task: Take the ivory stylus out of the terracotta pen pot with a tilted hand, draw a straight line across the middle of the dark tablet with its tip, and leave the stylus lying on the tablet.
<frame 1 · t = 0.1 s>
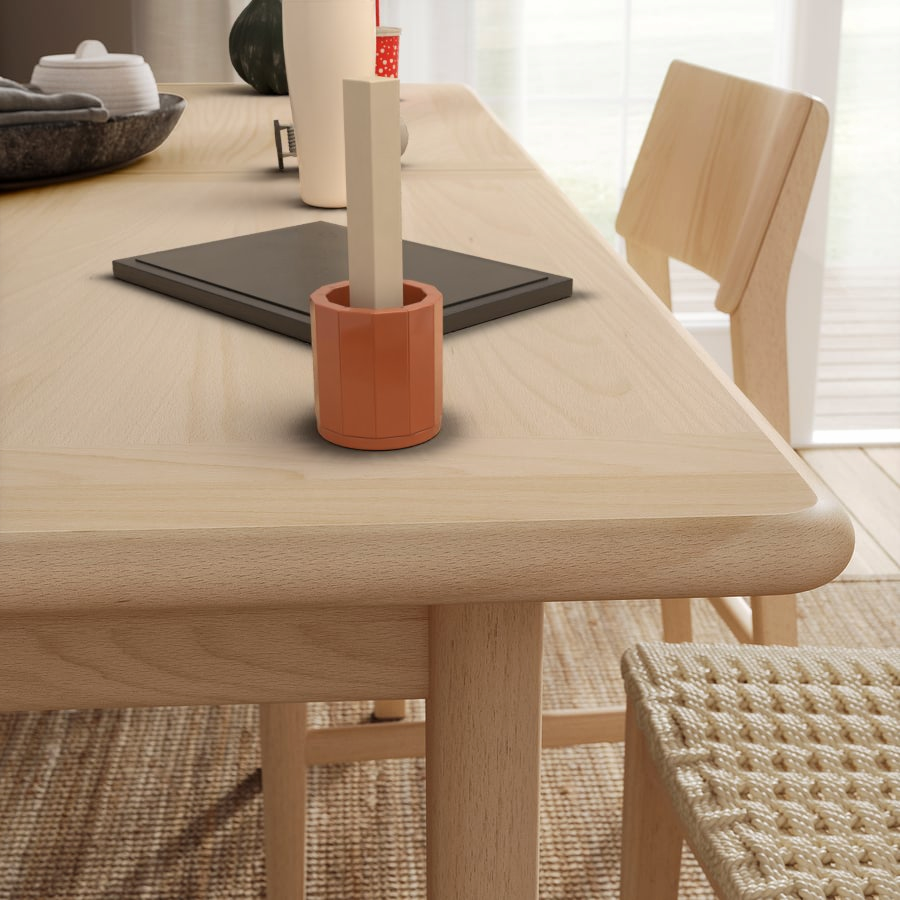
pen pot: (379, 426, 47), on the table
squash: (285, 93, 164), on the table
beverage cup: (379, 102, 154), on the table
stylus: (375, 256, 45), in the pen pot
tablet: (336, 285, 68), on the table
clip-on lamp: (344, 167, 107), on the table
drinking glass: (335, 205, 90), on the table
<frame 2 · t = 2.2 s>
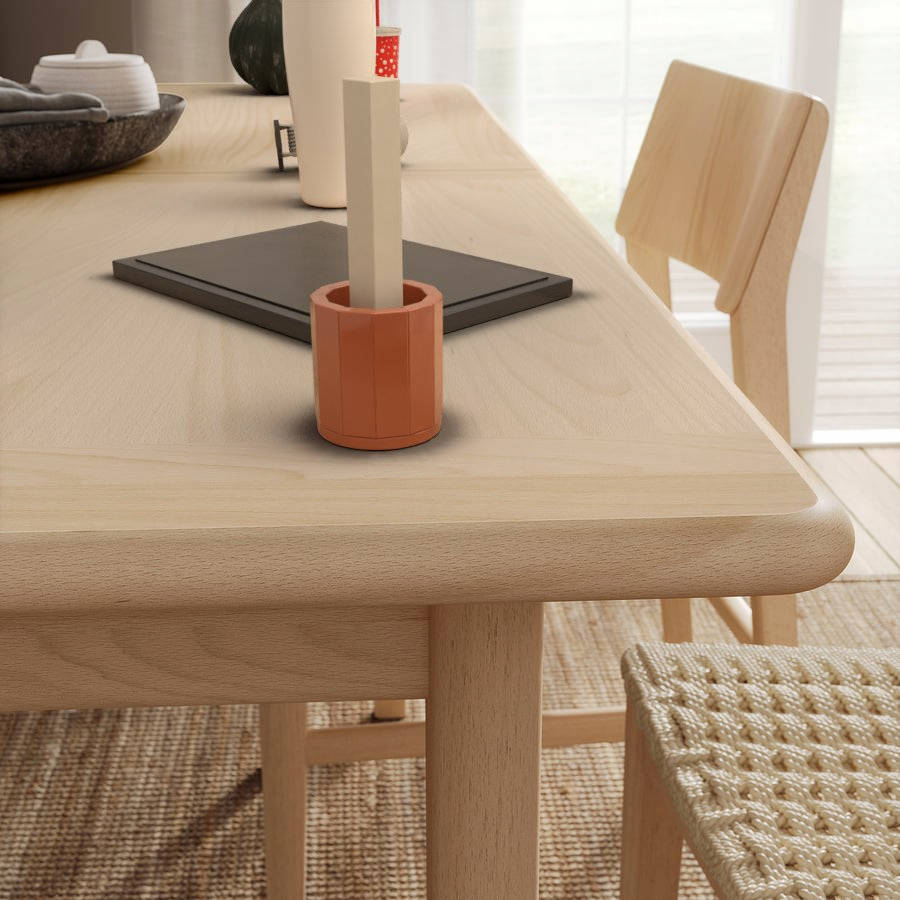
nothing on the table moved.
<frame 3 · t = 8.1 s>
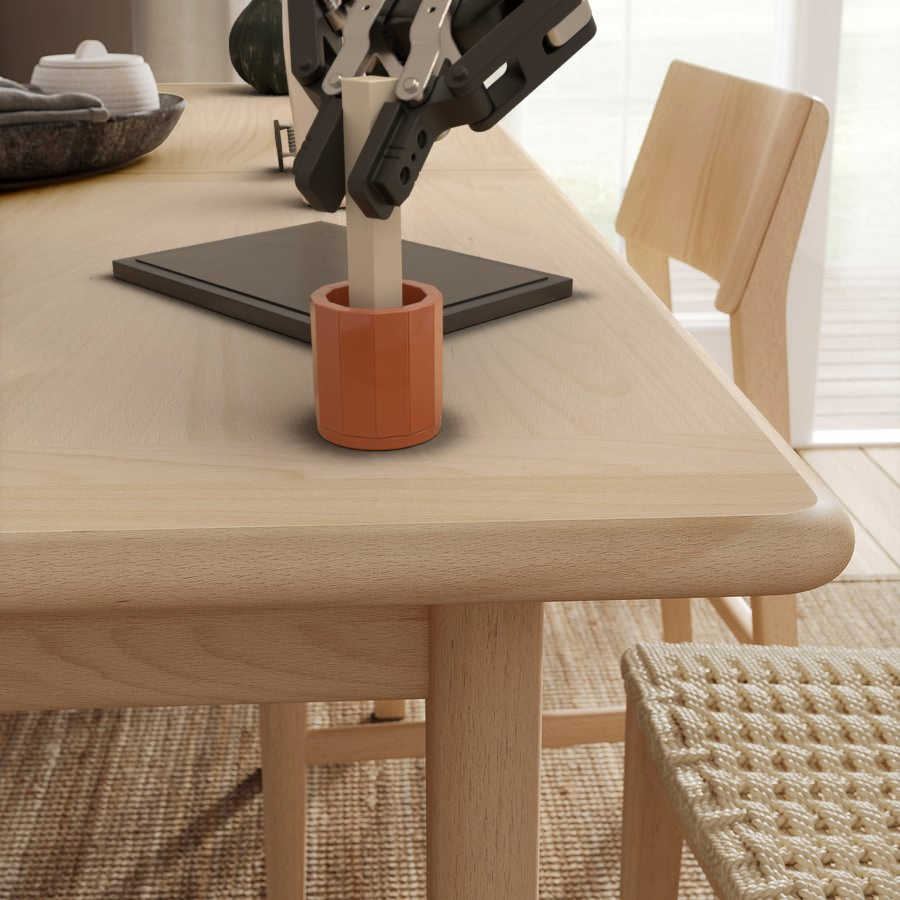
hand: (340, 201, 42), 9 cm above the table, tool tilted 45°, fingers closed on stylus, 2 cm apart
stylus: (374, 256, 45), in the pen pot, point 7 cm above the table, touching gripper
everything else where it was.
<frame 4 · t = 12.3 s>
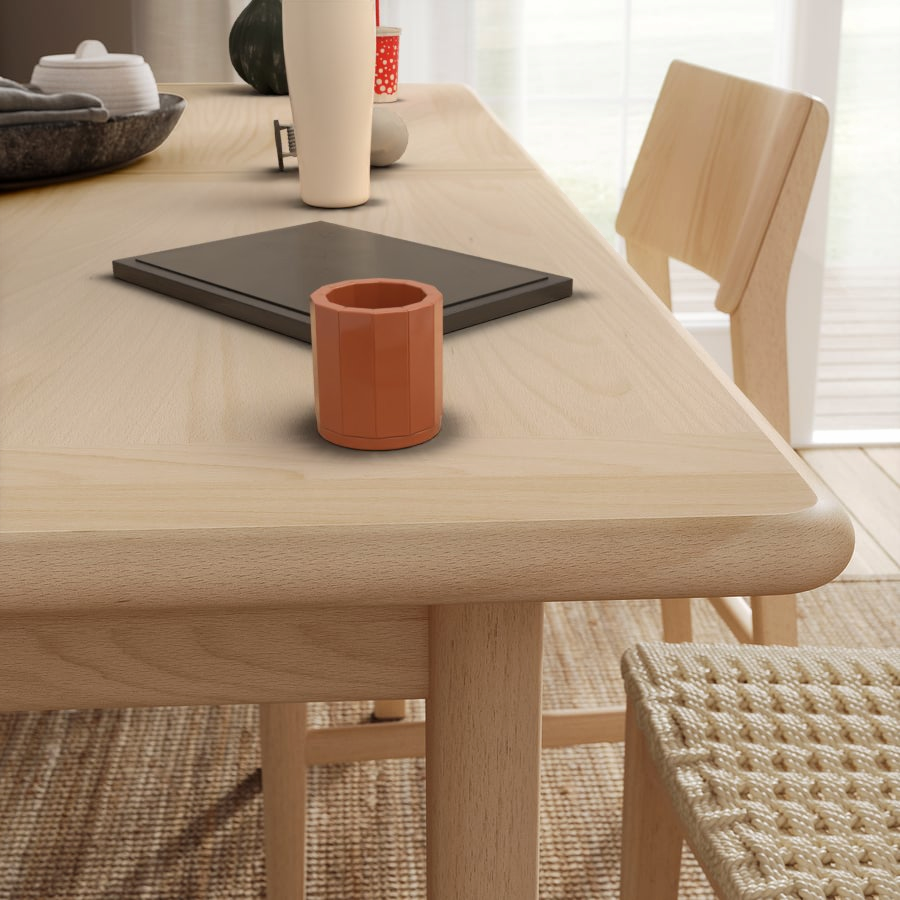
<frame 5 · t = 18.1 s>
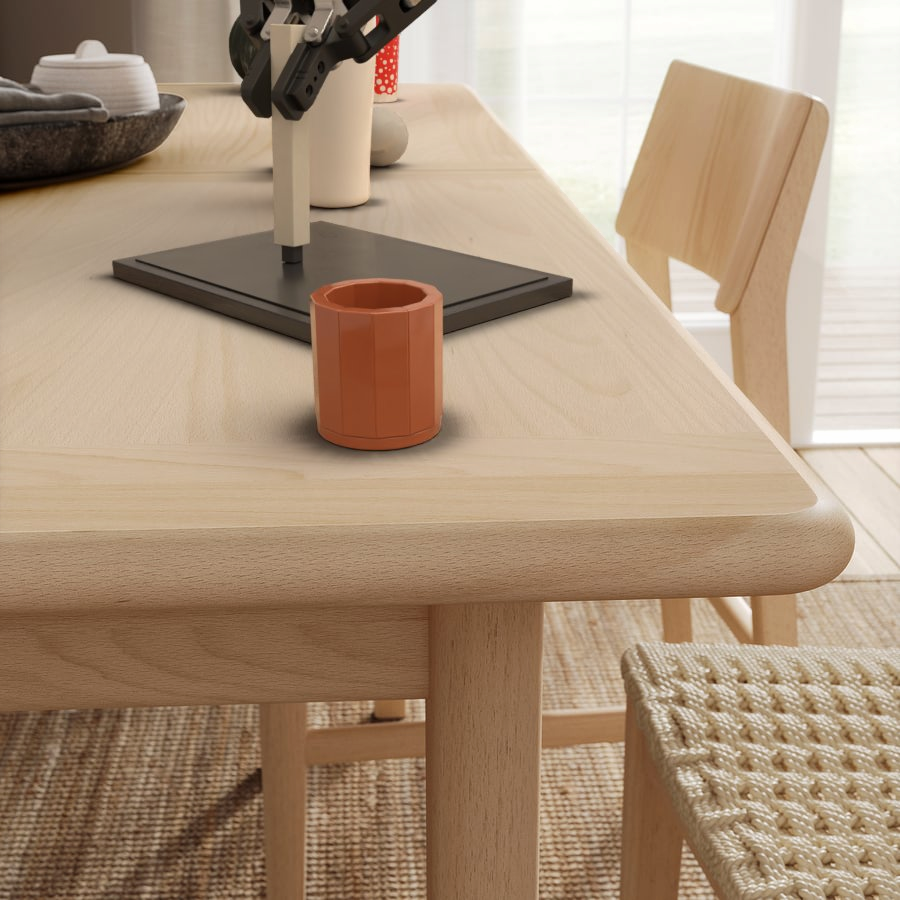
hand: (269, 108, 64), 10 cm above the table, tool tilted 45°, fingers closed on stylus, 1 cm apart
stylus: (290, 146, 66), on the tablet, point 8 cm above the table, touching gripper
everything else where it was.
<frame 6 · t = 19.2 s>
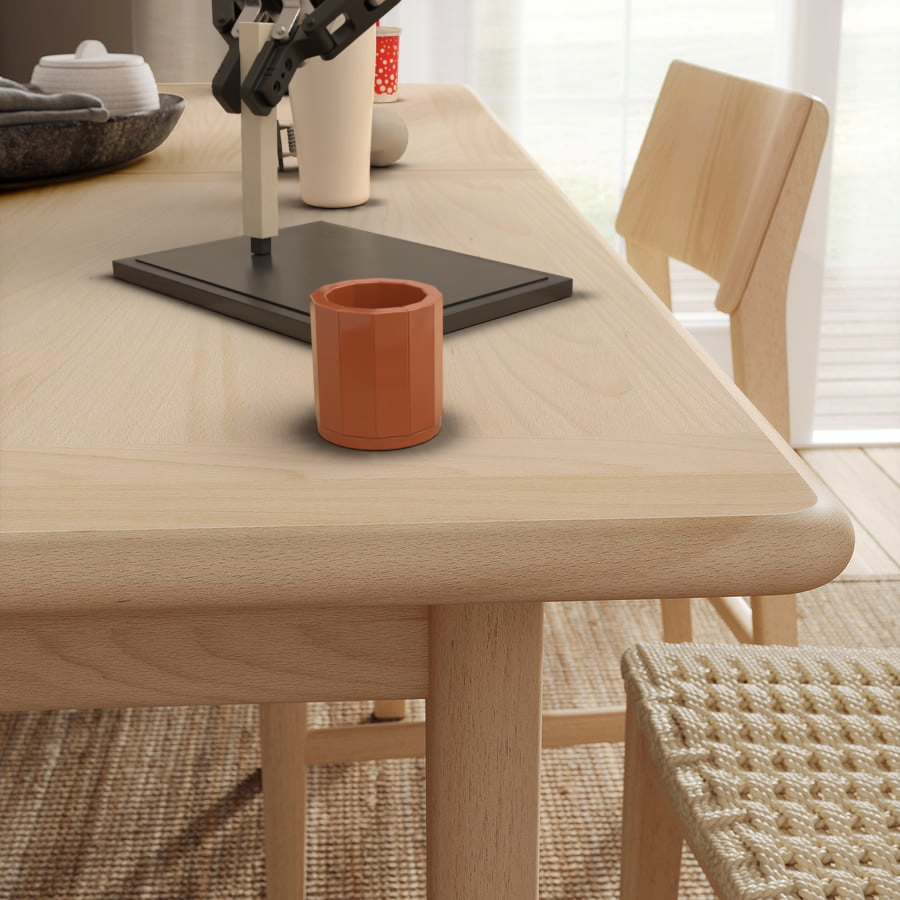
hand: (239, 104, 66), 10 cm above the table, tool tilted 45°, fingers closed on stylus
stylus: (259, 141, 68), on the tablet, point 8 cm above the table, touching gripper
everything else where it was.
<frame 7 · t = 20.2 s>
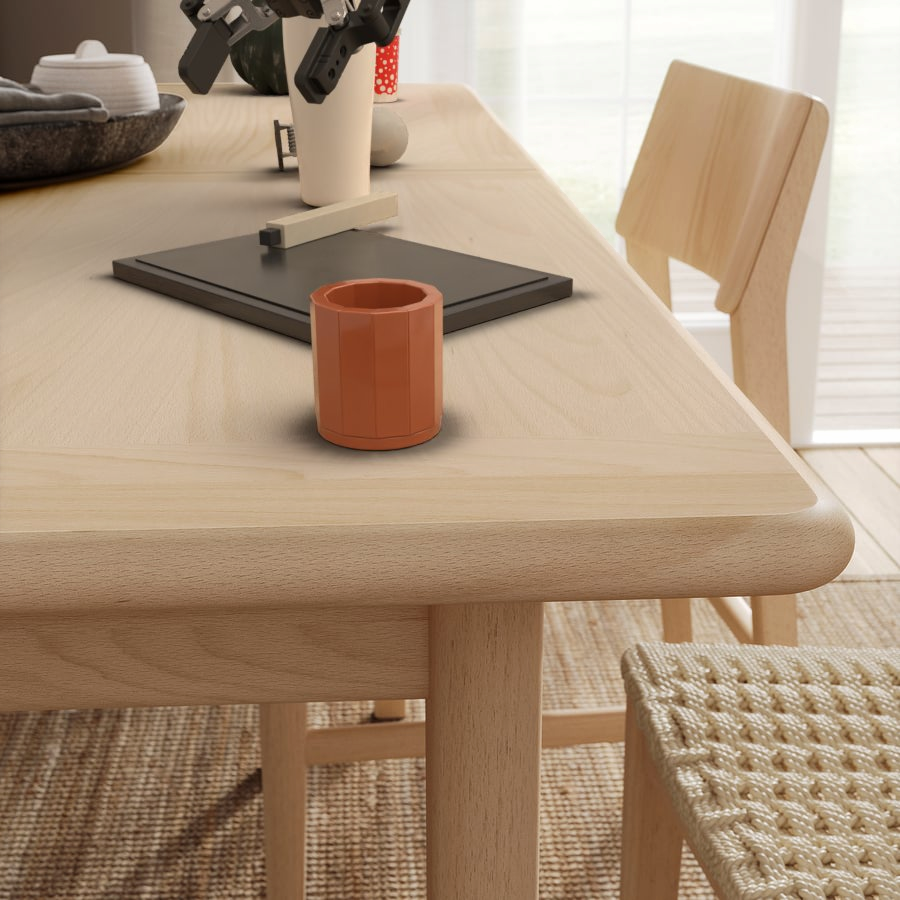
hand: (246, 90, 66), 11 cm above the table, tool tilted 45°, fingers open, 8 cm apart
stylus: (331, 219, 76), on the tablet, point 1 cm above the table, tilted 90°
everything else where it was.
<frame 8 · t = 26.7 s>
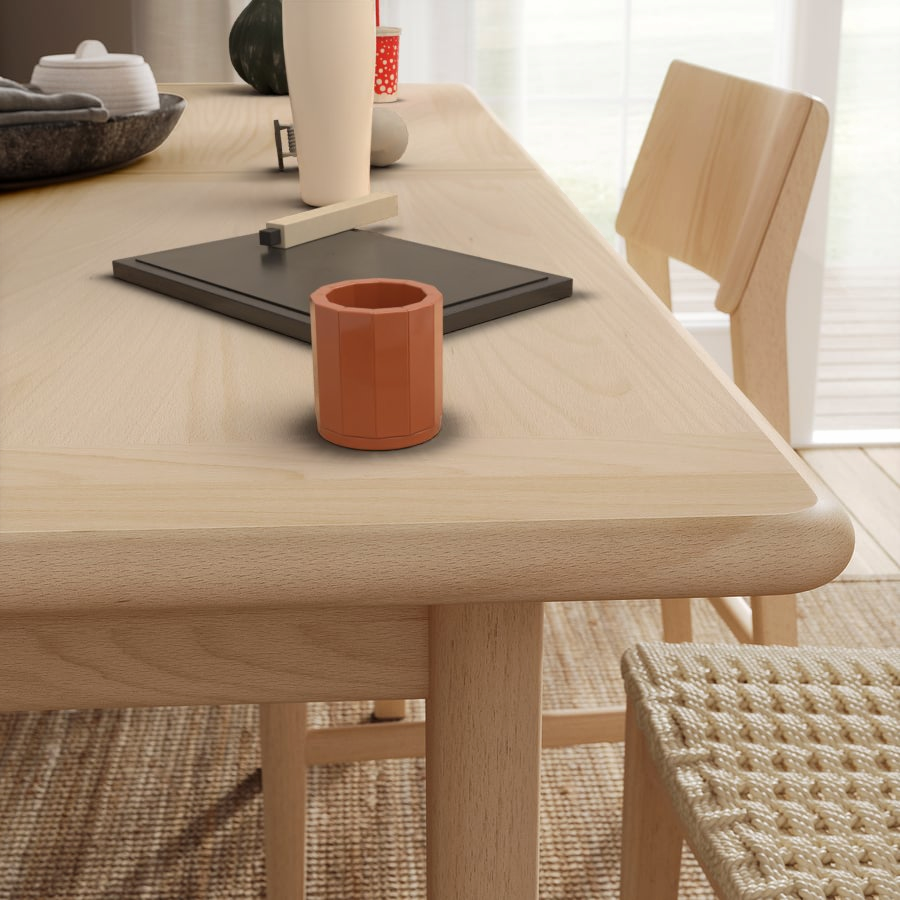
nothing on the table moved.
at the end: stylus inside the target area on the tablet (6.2 cm from its centre), point 1.9 cm above the tablet's base; stylus moved 27.3 cm from its start; the gripper is holding nothing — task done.
